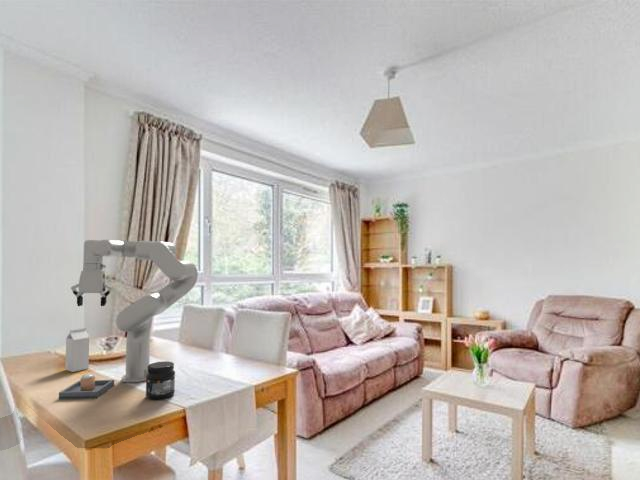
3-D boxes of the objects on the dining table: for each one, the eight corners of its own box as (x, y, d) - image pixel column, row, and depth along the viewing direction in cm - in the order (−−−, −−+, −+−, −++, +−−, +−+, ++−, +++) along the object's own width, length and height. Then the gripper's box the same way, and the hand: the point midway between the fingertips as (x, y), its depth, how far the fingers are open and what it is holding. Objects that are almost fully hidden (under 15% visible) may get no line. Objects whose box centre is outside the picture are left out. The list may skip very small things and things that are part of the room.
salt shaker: (97, 387, 155) (97, 373, 155) (90, 391, 150) (90, 377, 150) (84, 387, 155) (85, 373, 155) (77, 392, 150) (77, 378, 150)
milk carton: (88, 368, 184) (89, 328, 184) (72, 372, 178) (73, 331, 178) (81, 366, 187) (82, 327, 188) (65, 370, 181) (66, 329, 182)
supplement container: (153, 390, 154) (153, 360, 155) (179, 391, 154) (179, 361, 154) (140, 400, 144) (140, 368, 144) (167, 401, 143) (168, 368, 144)
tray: (114, 385, 160) (114, 379, 160) (97, 398, 146) (97, 391, 146) (79, 386, 159) (79, 380, 159) (58, 399, 145) (58, 392, 145)
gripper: (116, 267, 177) (115, 304, 176) (76, 267, 175) (75, 304, 174) (109, 267, 169) (108, 306, 169) (67, 267, 167) (66, 307, 167)
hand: (91, 305), depth 171 cm, fingers open, 9 cm apart
